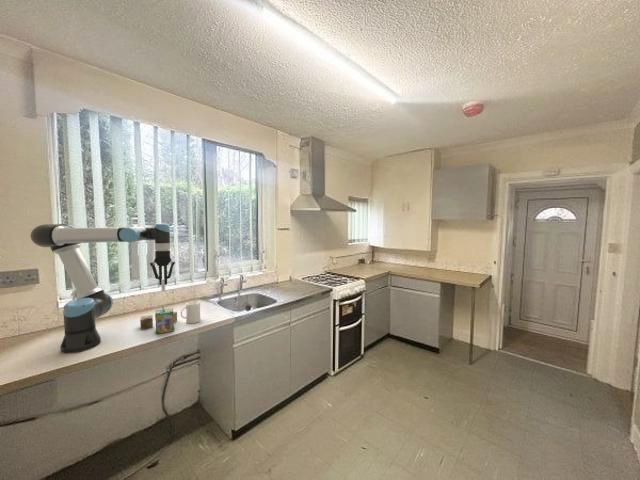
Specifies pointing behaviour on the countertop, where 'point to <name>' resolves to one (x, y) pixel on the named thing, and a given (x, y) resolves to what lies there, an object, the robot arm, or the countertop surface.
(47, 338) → the countertop surface
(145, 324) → the walnut block
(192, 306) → the mug
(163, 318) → the chalk box
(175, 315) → the walnut block
